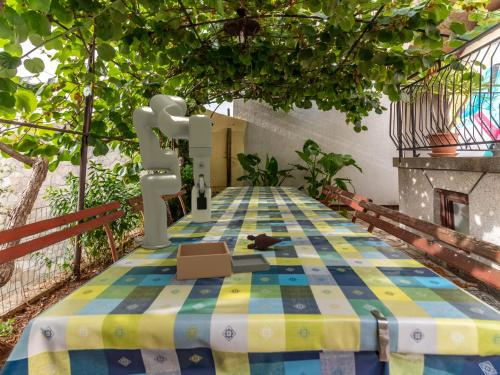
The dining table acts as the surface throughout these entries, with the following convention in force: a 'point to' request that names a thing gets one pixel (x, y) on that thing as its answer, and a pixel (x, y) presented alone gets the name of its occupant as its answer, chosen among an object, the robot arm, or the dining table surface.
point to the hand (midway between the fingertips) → (201, 207)
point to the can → (201, 215)
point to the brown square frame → (203, 260)
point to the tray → (249, 263)
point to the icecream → (262, 241)
